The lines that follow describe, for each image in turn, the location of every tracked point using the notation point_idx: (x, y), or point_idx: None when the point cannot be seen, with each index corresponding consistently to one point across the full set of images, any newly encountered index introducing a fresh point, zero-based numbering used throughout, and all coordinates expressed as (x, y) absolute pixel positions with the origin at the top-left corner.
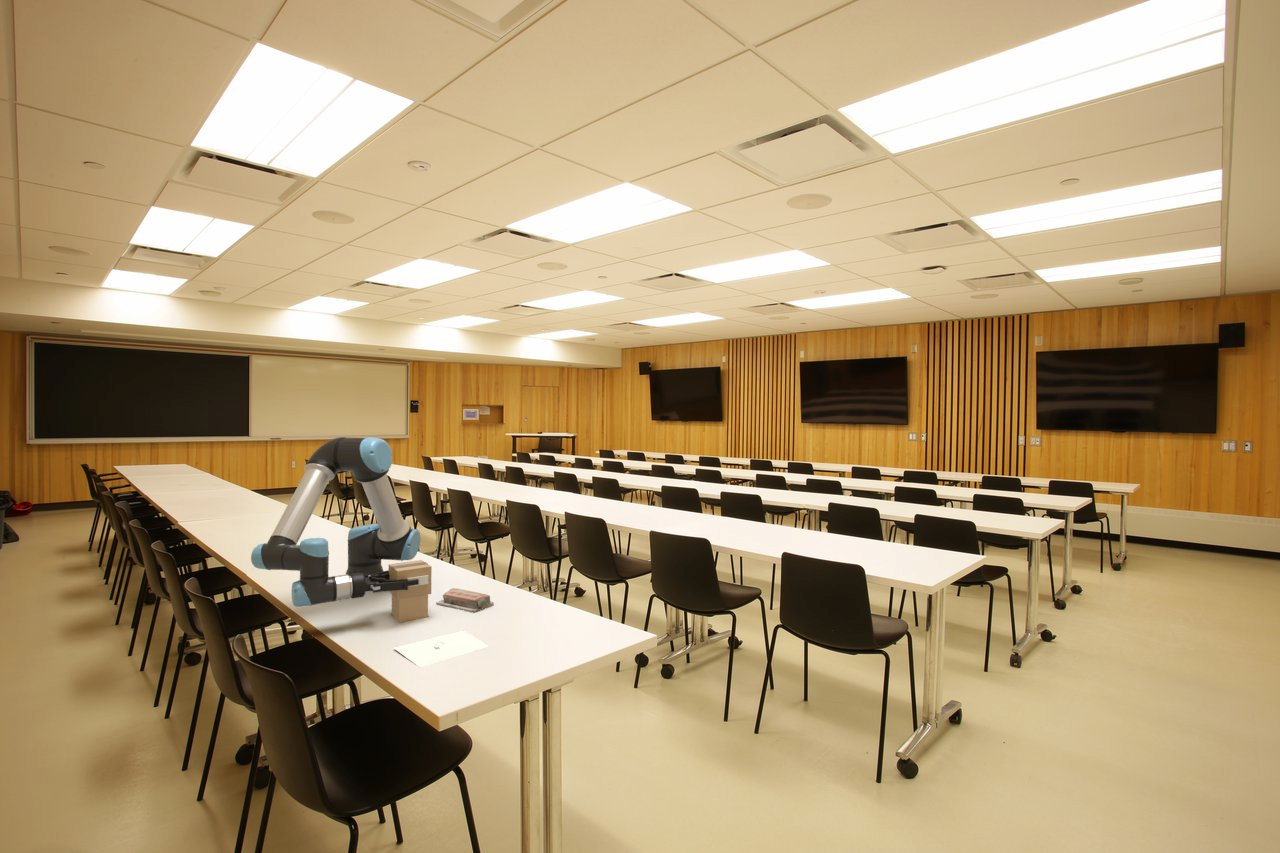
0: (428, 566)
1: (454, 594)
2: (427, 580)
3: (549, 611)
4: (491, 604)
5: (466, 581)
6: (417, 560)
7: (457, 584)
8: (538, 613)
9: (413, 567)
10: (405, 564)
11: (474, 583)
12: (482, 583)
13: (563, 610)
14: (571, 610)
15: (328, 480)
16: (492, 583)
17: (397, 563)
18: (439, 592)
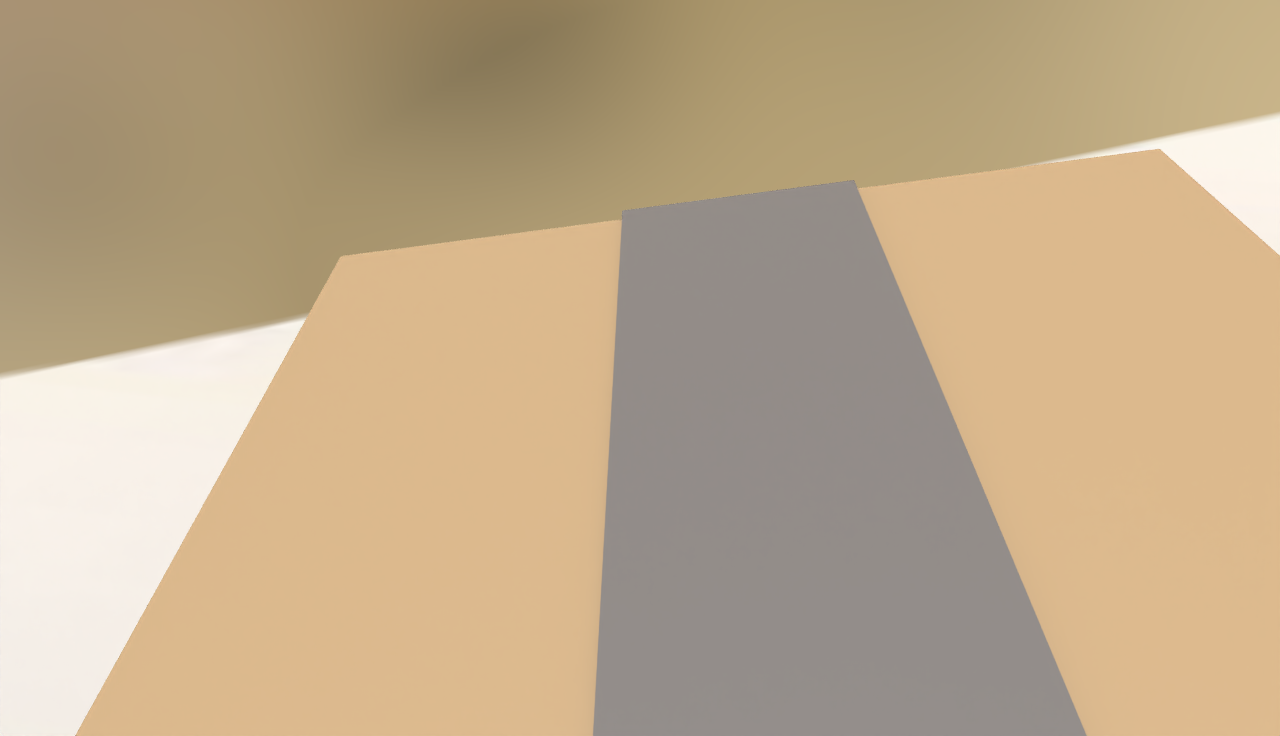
0: (1147, 177)
1: None
2: None
3: (1214, 187)
4: None
5: (38, 437)
6: (316, 302)
7: (36, 496)
8: (1249, 223)
9: (1158, 382)
10: (557, 519)
11: (156, 405)
12: (216, 369)
13: (1214, 148)
14: (1227, 128)
15: None
16: (284, 328)
17: (153, 716)
18: (99, 656)
